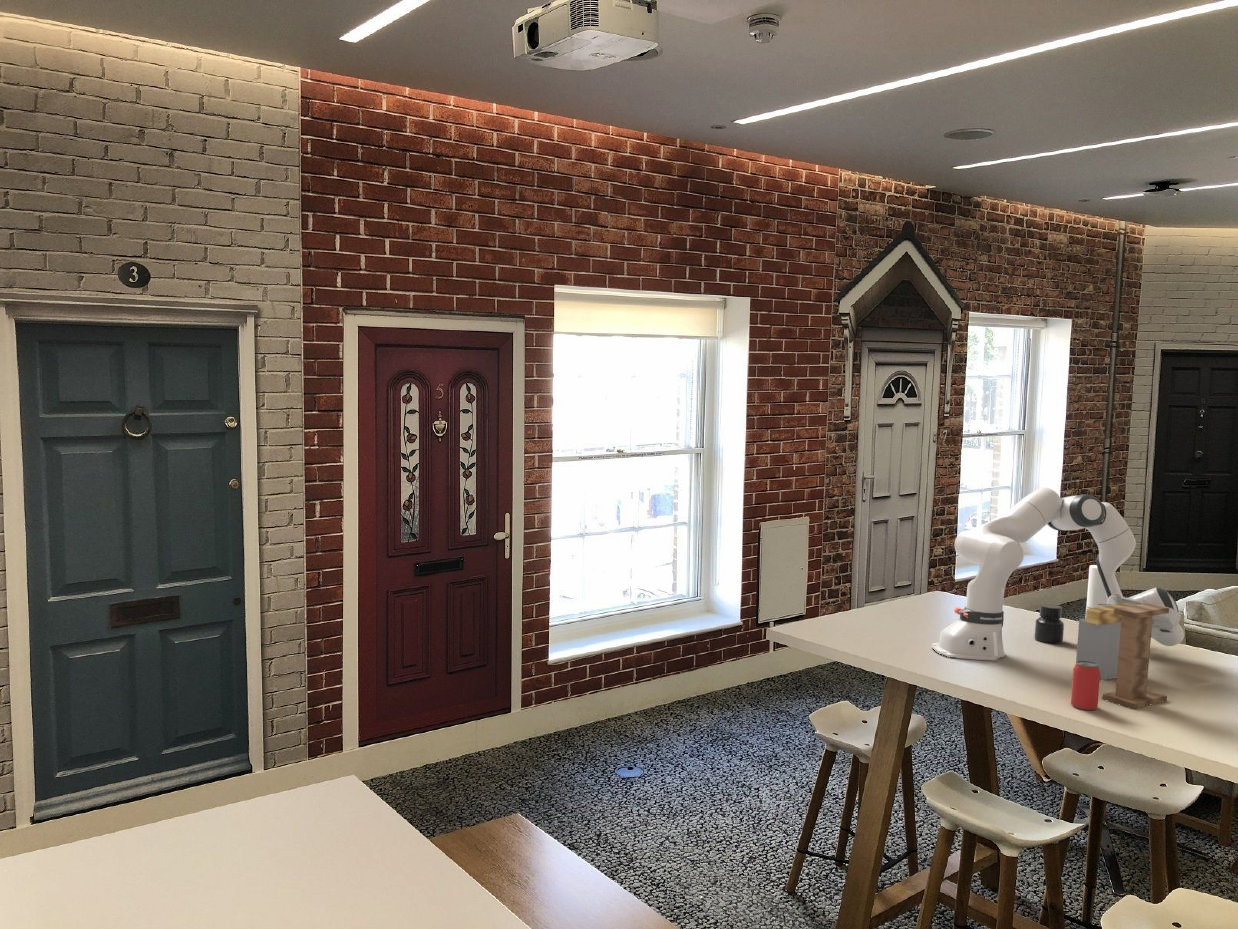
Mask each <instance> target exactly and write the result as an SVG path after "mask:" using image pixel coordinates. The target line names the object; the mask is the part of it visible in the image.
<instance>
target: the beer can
mask: <svg viewBox="0 0 1238 929" xmlns="http://www.w3.org/2000/svg"><path fill="white" fill-rule="evenodd" d="M1098 666H1099V665H1098V664H1097V663H1094V662H1090V661H1077V662H1076V661H1075V664H1074V666H1073V671H1072V682H1071V683H1072V684H1071V696H1070V704H1071V706H1072V707H1075V708H1076V709H1080V710H1085V711H1094V710H1096V709H1097V708H1098V706H1099V695H1100V682H1101V678H1100V670H1099V667H1098Z"/></svg>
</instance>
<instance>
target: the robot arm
mask: <svg viewBox="0 0 1238 929" xmlns="http://www.w3.org/2000/svg"><path fill="white" fill-rule="evenodd" d="M1046 526H1048V527H1049V528H1051V529H1053V530H1054V531H1059V532H1067V531H1078V530H1083V529H1086V530H1087V531H1088V532H1089V533H1090V534H1091V536H1092V538H1093V540H1094V542H1095V543H1096V545H1097V548H1098V556H1097V557H1096V558H1095V560H1096V561H1095V563H1096V564H1095V565H1097V569H1098V572H1099V575H1100V578H1101V580H1102V583H1103V586H1104V588H1105V591H1106V594H1107V596H1108V601H1107V606H1110V605H1116V604H1123V603H1125V604H1129V605H1139V604H1146V603H1150V604H1154V605H1159V606H1164V607H1168V608H1169V613H1166V614H1160V615H1154V616H1153V619H1152V631H1151V639H1153V640H1154V641H1155V642H1157V643H1159V644H1161V645H1163V646H1164V647H1174V646H1176V645H1179V644H1180V643H1181V642H1182V641H1183V639H1185V631H1184V629H1183V628H1182V626H1181V624H1180V621H1181V617H1182V615H1181V613H1179V606H1178V605H1177V604H1178V603H1177V601H1176V600H1175V598H1174V597H1173V595H1171V593H1170V592H1169V591H1167V590H1166V589H1164V588H1162V587H1158V586H1157V587H1154V588H1153V587H1152V588H1151V589H1148V590H1144V591H1142V592H1141V593H1137V594H1135V595H1132V596H1130V597H1129V596H1128V597H1125V596H1123V593H1122V591H1121V588H1120V586H1119V583H1118V580H1117V578H1116V572H1117V569H1118V568H1119V567H1120V566H1122V565H1123V564H1124V563H1125V562H1126V561H1127V560H1128V559H1129V558H1130V557H1131V555H1132V554H1133V553H1134V551H1135V550H1136V542H1137V541H1136V537H1135V536H1134V533H1133V531H1132V530H1131V528H1130V527H1129V525H1128V523H1127V522H1126V520H1125V519H1124V517H1123V516H1122V515H1121V514H1120V513H1119V511H1118V510H1117V509H1116V508H1115V507H1114V506H1113V504H1111V503H1109V502H1106V501H1101V500H1100V499H1098V498H1097V497H1096V496H1094V495H1091V494H1078V495H1069V496H1065V497H1060V495H1059V493H1057V492H1056V491H1055V490H1054V489H1052V488H1049V487H1039V488H1038V489H1036V490H1034V491H1032V492H1030V493H1029V494H1026V496H1024V497H1022V498H1021V499H1020V500H1019V501H1018V502H1016V503H1015V504H1014V505H1013V506H1012V507H1010V508H1009V509H1007V510H1006V511H1005V512H1004V513H1002V514H1001V515H999V516H997V517H995V518H994V519H992V520H989V521H988V522H987V521H986V522H985V523H983V524H982V525H979V526H977V527H973V528H971V529H967V530H965V529H964V530H963V531H960V532H959V533H958V535H957V536H956V537H955V540H954V550H955V553H956V554H957V555H958V557H960V558H962V559H963V560H964V561H966V562H968V563H971V564H974V565H978V566H979V568H978V572H977V574H976V577H975V578H973V579H971V580H970V581H968V584H967V587H966V588H967V589H966V590H967V591H966V600H965V601H966V602H965V607H964V608H960V607H958V606H957V607H955V608H954V613H955V614H957V615H959V618H958V619H957V620H955V621H954V622H952V623H951V624H949V625H948V626H946V627H944V628H942V630H941V631H940V634H939V637H938V638H939V639H938V642H934V643H933V642H932V643H931V646H930V647H932V648H933V649H934V650H935V651H937V652H938V653H939V655H940V654H943V655H945V656H944V657H946V656H947V657H946V658H950V657H956V658H955V659H964V660H965V659H967V660H979V661H980V660H983V661H998V660H999V659H1000V657H1001V658H1003V657H1005V656H1006V653H1005V648H1004V644H1003V643H1004V641H1003V627H1004V618H1005V615H1004V614H1005V612H1004V598H1005V589H1006V585H1007V582H1008V580H1009V578H1010V577H1011V575H1012V573H1013V572H1014V571H1015V570H1017V569H1019V567H1020V566H1021V565H1022V564H1023V560H1024V557H1025V552H1024V548H1023V547H1022V545H1021V544H1023V543H1026V542H1028V541H1030V539H1032V538H1033V537H1034V536H1036V534H1038V532H1040V531H1041V530H1042V529H1043V528H1044V527H1046ZM932 648H931V649H932ZM934 650H933V651H934ZM935 651H934V652H935ZM938 653H937V654H938ZM943 655H942V656H943Z"/></svg>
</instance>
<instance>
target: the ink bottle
mask: <svg viewBox="0 0 1238 929" xmlns="http://www.w3.org/2000/svg"><path fill="white" fill-rule="evenodd" d="M1062 610H1063V607H1062V606H1060V605H1059V604H1052V603H1050V604H1049V603H1042V604H1039V617H1038V618H1037V619H1036V620H1035V625H1034V640H1036V641H1038V642H1041V641H1042V643H1045V644H1062V643H1063V642H1064V633H1065V623H1064V621H1063V620H1061V618H1062V612H1063V611H1062Z"/></svg>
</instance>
